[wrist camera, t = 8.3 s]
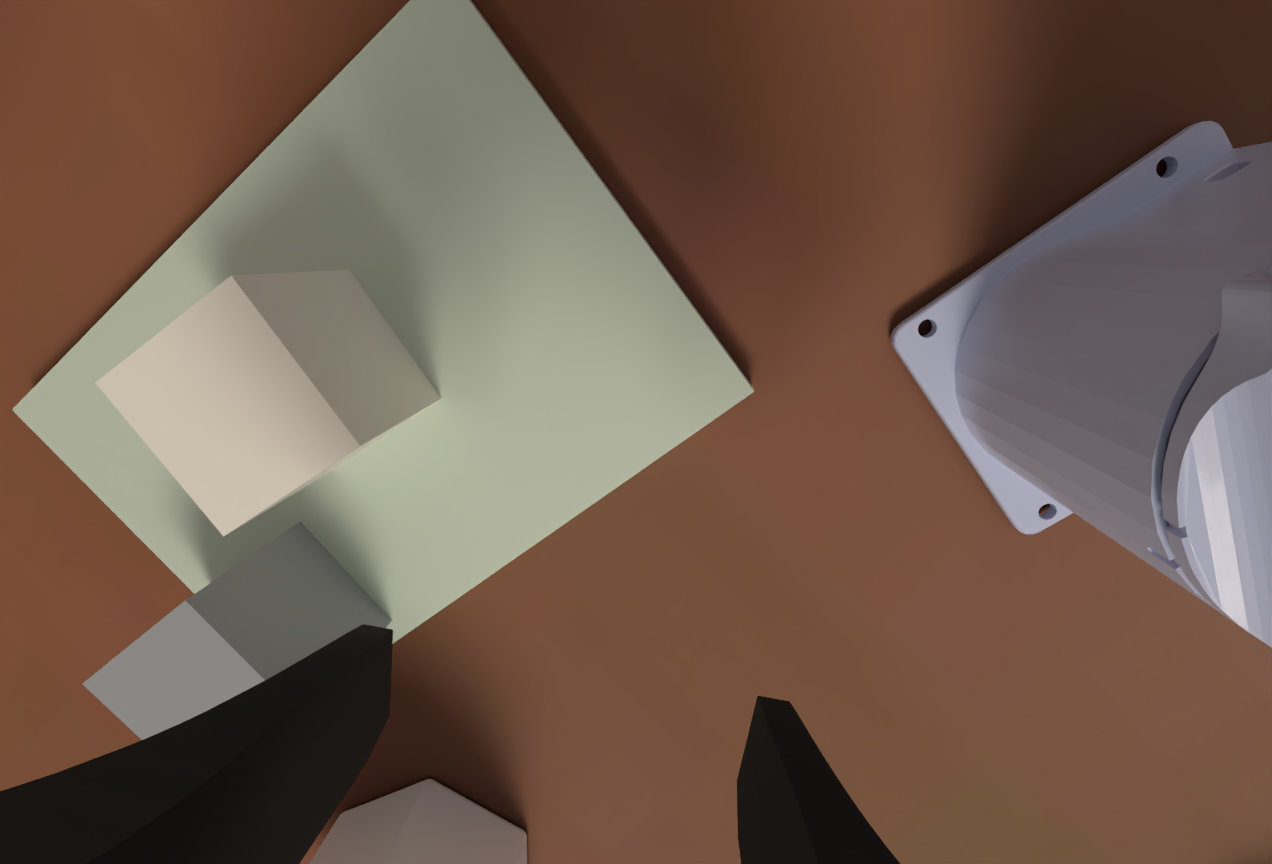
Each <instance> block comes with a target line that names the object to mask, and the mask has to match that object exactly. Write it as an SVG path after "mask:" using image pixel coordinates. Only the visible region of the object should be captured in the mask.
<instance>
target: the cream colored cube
mask: <svg viewBox="0 0 1272 864" xmlns="http://www.w3.org/2000/svg"><path fill="white" fill-rule="evenodd" d="M95 383H96V385H97V386H98V387H99V388H100V389H101V391H102V392H103V393H104V394H105V395H106V397H107V398H108V399H109V400H110V401H111V403H112V404H113V405H114V406H115V407H116V408H117V410H118V411H119V412H120V413H121V414H122V416H123V417H124V418H125V419H126V420H127V422H128V423H129V424H130V425H131V426H132V428H133V429H134V430H135V431H136V432H137V434H138V435H139V436H140V437H141V438H142V440H143V441H144V442H145V443H146V444H147V446H148V447H149V448H150V449H151V450H152V452H153V453H154V454H155V455H156V456H157V458H158V459H159V460H160V461H161V462H162V464H163V465H164V466H165V467H166V468H167V470H168V471H169V472H170V473H171V474H172V476H173V477H174V478H175V479H176V480H177V482H178V483H179V484H180V485H181V486H182V487H183V489H184V490H185V491H186V492H187V493H188V495H189V496H190V497H191V498H192V499H193V501H194V502H195V503H196V504H197V505H198V507H199V508H200V509H201V510H202V511H203V513H204V514H205V515H206V516H207V517H208V519H209V520H210V521H211V522H212V523H213V525H214V526H215V527H216V528H217V529H218V531H219V532H220V533H221V534H222V535H223V537H224V536H225V535H227V534H229V533H230V532H232V531H234V530H235V529H237V528H238V527H240V526H242V525H243V524H245V523H247V522H248V521H250V520H252V519H253V518H255V517H257V516H258V515H260V514H262V513H263V512H265V511H266V510H268V509H270V508H271V507H273V506H275V505H276V504H278V503H280V502H281V501H283V500H285V499H286V498H288V497H289V496H291V495H293V494H294V493H296V492H298V491H299V490H301V489H303V488H304V487H306V486H308V485H309V484H311V483H313V482H314V481H316V480H317V479H319V478H321V477H322V476H324V475H326V474H327V473H329V472H331V471H332V470H334V469H335V468H337V467H338V466H340V465H341V464H343V463H344V462H346V461H347V460H349V459H351V458H352V457H354V456H355V455H357V454H358V453H360V452H361V451H363V450H364V449H366V448H367V447H369V446H370V445H372V444H373V443H375V442H376V441H378V440H379V439H381V438H382V437H384V436H385V435H387V434H388V433H390V432H391V431H393V430H395V429H396V428H398V427H399V426H401V425H402V424H404V423H405V422H407V421H408V420H410V419H411V418H413V417H414V416H416V415H417V414H419V413H420V412H422V411H423V410H425V409H426V408H428V407H429V406H431V405H432V404H434V403H435V402H437V401H438V400H440V399H442V398H441V397H440V396H439V394H438V393H437V391H436V390H435V389H434V387H433V386H432V384H431V383H430V382H429V380H428V379H427V377H426V376H425V375H424V373H423V372H422V370H421V369H420V368H419V366H418V365H417V363H416V362H415V361H414V359H413V358H412V356H411V355H410V354H409V352H408V351H407V349H406V348H405V347H404V345H403V344H402V342H401V341H400V340H399V338H398V337H397V335H396V334H395V333H394V331H393V330H392V328H391V327H390V326H389V324H388V323H387V321H386V320H385V319H384V317H383V316H382V314H381V313H380V312H379V310H378V309H377V307H376V306H375V305H374V303H373V302H372V300H371V299H370V298H369V296H368V295H367V293H366V292H365V291H364V289H363V288H362V286H361V285H360V284H359V282H358V281H357V279H356V278H355V277H354V275H353V274H352V272H351V271H350V270H331V271H310V272H290V273H270V274H250V275H231V276H230V277H229V278H227V279H226V280H225V281H223V282H222V283H221V284H220V285H218V286H217V287H216V288H215V289H213V290H212V291H211V292H209V293H208V294H207V295H206V296H204V297H203V298H202V299H201V300H199V301H198V302H197V303H196V304H194V305H193V306H192V307H190V308H189V309H188V310H187V311H185V312H184V313H183V314H182V315H180V316H179V317H178V318H177V319H175V320H174V321H173V322H171V323H170V324H169V325H168V326H166V327H165V328H164V329H163V330H161V331H160V332H159V333H158V334H156V335H155V336H154V337H152V338H151V339H150V340H149V341H147V342H146V343H145V344H144V345H142V346H141V347H140V348H138V349H137V350H136V351H135V352H133V353H132V354H131V355H130V356H128V357H127V358H126V359H125V360H123V361H122V362H121V363H119V364H118V365H117V366H116V367H114V368H113V369H112V370H111V371H109V372H108V373H107V374H106V375H104V376H103V377H102V378H100V379H99V380H98V381H97V382H95Z"/></svg>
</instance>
